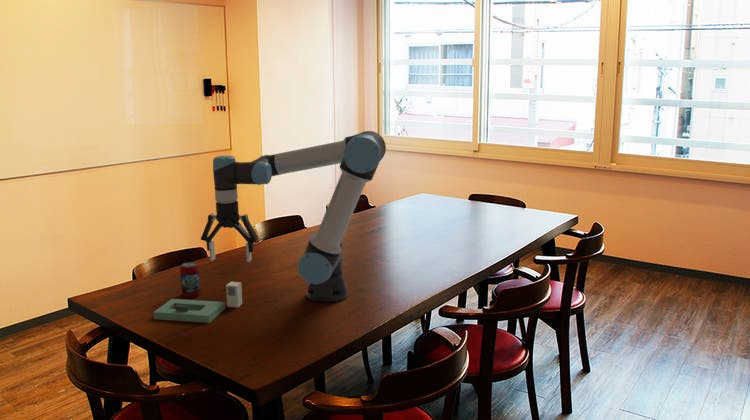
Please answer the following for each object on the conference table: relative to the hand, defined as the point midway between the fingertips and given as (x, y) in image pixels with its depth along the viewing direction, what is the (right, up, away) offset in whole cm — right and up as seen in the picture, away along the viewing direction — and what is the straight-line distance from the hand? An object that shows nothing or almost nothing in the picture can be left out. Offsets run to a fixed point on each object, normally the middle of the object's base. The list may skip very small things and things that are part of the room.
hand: (231, 260), depth 240 cm
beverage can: (-18, -14, +14) cm, 27 cm away
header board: (-13, -18, -4) cm, 23 cm away
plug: (+1, -16, +4) cm, 17 cm away
